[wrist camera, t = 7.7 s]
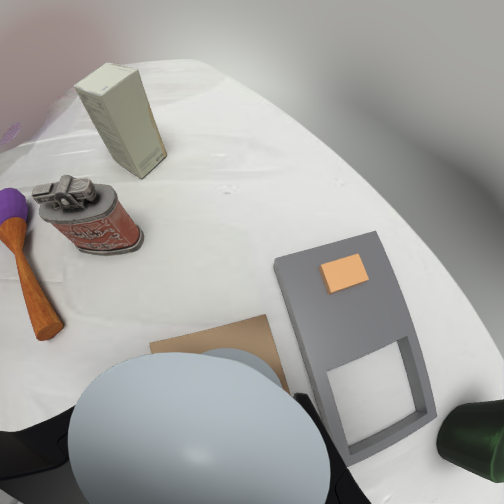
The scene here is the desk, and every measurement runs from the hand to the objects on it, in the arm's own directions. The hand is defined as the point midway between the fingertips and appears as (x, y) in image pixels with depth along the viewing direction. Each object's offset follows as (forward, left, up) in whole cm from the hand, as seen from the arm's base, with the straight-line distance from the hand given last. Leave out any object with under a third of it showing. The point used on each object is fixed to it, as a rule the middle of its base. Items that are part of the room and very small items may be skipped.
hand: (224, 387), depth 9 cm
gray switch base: (-2, -11, -13) cm, 17 cm away
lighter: (+15, +9, -14) cm, 22 cm away
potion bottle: (-16, -19, -14) cm, 28 cm away
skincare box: (+25, +5, -14) cm, 29 cm away
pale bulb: (-1, +1, -7) cm, 7 cm away
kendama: (+16, +21, -14) cm, 30 cm away
